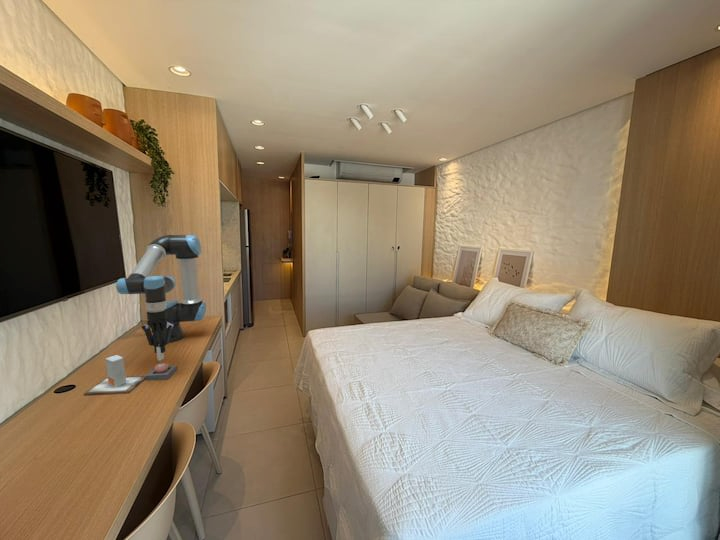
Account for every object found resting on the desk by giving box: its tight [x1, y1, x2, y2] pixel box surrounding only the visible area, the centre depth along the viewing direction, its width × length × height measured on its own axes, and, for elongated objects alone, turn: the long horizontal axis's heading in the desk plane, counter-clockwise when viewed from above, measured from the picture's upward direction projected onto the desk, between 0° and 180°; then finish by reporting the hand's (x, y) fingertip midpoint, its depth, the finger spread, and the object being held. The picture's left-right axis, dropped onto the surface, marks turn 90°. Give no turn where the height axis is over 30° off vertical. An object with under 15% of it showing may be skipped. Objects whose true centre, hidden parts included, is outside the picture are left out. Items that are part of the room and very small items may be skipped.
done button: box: [154, 362, 169, 373], centre depth 134 cm, size 5×5×3 cm
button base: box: [145, 365, 178, 382], centre depth 134 cm, size 9×9×2 cm
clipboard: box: [83, 375, 146, 396], centre depth 125 cm, size 13×17×1 cm
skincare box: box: [105, 354, 127, 387], centre depth 124 cm, size 6×4×12 cm
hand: (160, 359), depth 133 cm, fingers closed
